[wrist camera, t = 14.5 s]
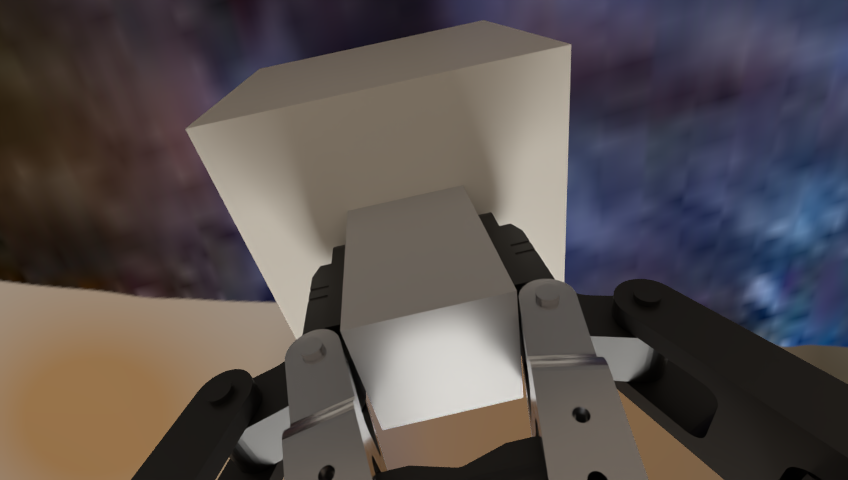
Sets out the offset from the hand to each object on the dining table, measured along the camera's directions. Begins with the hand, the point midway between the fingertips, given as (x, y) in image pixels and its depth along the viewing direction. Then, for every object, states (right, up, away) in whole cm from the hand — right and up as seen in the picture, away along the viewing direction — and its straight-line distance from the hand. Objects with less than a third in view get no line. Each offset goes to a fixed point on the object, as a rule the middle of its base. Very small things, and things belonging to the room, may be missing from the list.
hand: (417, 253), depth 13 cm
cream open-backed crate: (-1, +5, +8) cm, 9 cm away
